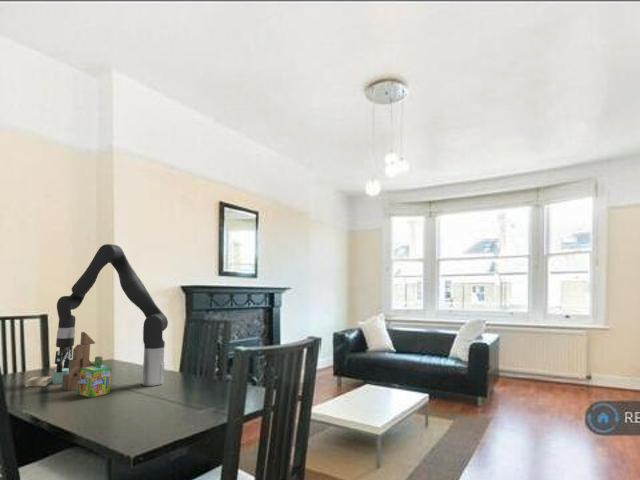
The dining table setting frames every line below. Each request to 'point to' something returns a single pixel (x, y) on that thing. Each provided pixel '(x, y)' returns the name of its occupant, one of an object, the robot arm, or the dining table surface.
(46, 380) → the maple pedestal
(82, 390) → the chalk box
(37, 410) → the dining table surface
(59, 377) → the teal cube
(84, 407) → the dining table surface
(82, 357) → the wooden toy
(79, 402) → the dining table surface
